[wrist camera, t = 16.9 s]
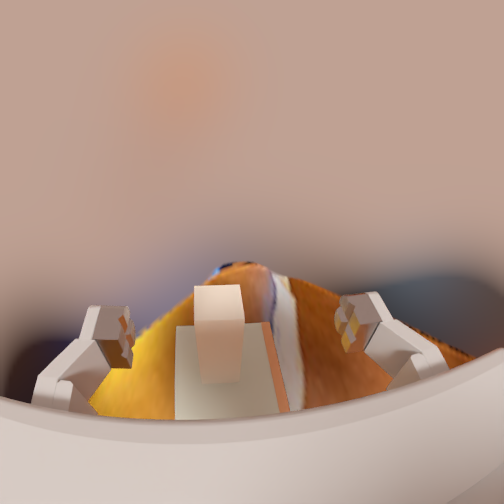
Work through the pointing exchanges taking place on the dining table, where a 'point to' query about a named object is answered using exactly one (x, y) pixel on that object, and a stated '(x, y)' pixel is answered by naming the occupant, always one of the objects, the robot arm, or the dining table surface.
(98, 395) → the dining table surface
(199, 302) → the cream post
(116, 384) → the dining table surface
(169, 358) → the dining table surface
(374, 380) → the dining table surface
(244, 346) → the mat
